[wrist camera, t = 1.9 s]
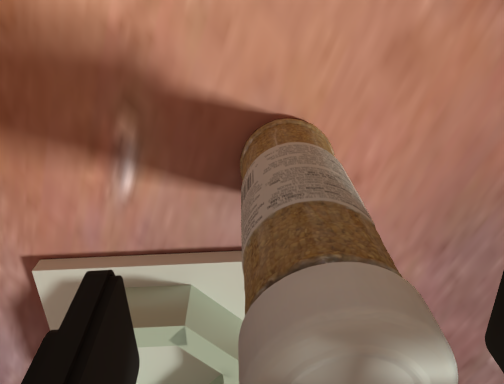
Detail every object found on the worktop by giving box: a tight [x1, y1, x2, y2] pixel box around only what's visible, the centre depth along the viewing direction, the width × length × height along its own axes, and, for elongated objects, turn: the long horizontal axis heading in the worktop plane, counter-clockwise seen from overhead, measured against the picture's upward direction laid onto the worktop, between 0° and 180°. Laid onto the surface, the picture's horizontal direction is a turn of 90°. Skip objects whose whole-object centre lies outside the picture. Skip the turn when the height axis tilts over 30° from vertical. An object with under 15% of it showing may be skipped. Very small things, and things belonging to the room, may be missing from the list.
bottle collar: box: [32, 251, 245, 384], centre depth 24 cm, size 12×12×4 cm
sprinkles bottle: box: [238, 118, 458, 384], centre depth 15 cm, size 5×5×14 cm
